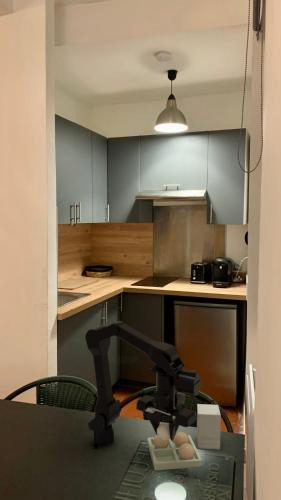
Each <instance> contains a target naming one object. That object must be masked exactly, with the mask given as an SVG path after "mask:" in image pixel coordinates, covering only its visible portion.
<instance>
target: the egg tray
mask: <svg viewBox="0 0 281 500" xmlns="http://www.w3.org/2000/svg"><path fill="white" fill-rule="evenodd" d="M187 435H188V437H189V444H190V445H192V446H193V448H194V450H195V455H194V458H193V459H191V460H182V459H181V458H180V456H179V448H180V447H178V448H177V447H176V445H175V444H174V440H173V441H171V439H169V444H168V447H167V448H163V449H156V448H155V446H154V444H153V440H154V437H155V436H154V437H153V436H151V437H147V447H148V451H149V454H150V458H151V462H152V465H153V469H154V471H165V470H174V469H175V470H179V469H189V468H190V469H192V468H202V467H203V459H202V457H201V456H200V453H199V451H198V448H197V447H196V445H195V443H194V441H193V438H192V437H191V434H187Z"/></svg>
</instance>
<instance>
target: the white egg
mask: <svg viewBox="0 0 281 500" xmlns="http://www.w3.org/2000/svg"><path fill="white" fill-rule="evenodd" d="M157 435H158V437H159V438H160V439H161V440H163V441H167V440H169V439H170V432H169V422H163V423H160V425H159V426H158V428H157Z"/></svg>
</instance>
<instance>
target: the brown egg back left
mask: <svg viewBox="0 0 281 500" xmlns="http://www.w3.org/2000/svg"><path fill="white" fill-rule="evenodd" d="M153 444H154V446H155V448H156V449H163V448H167V447H168V444H169V440H167V441H163V440H161V439H160V438H159V437H158V435H156V434H155V435H154V440H153Z"/></svg>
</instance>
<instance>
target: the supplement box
mask: <svg viewBox="0 0 281 500" xmlns="http://www.w3.org/2000/svg"><path fill="white" fill-rule="evenodd" d="M196 409H197V411H196V412H197V413H196V442H197V443H196V444H197V449H205V450H220V449H221V426H222V425H221V417H222V415H221V411H220V408H219V405H218V404H201V403H197V407H196Z"/></svg>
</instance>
